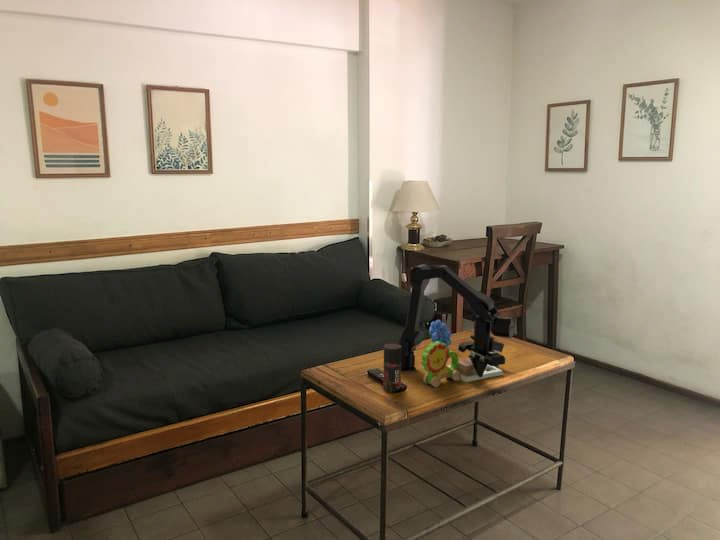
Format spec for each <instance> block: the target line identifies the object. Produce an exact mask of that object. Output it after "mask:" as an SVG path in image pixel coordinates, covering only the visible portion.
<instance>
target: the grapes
mask: <svg viewBox="0 0 720 540" xmlns="http://www.w3.org/2000/svg"><path fill="white" fill-rule="evenodd" d="M428 332H429V334H430V335H431V338H430V340H431V341H432V342H431V343H434V342H435V341H438V342H441V343H443V344H446V345H447V347H448V348H449V347H450V346H452V340H451V339H450V338H451V337H452V334H451V332H450V330H448V325H447V324H446V323H444V322H442V321H441V320H440V319H437V320H435V321H431V323H430V328H429V330H428Z"/></svg>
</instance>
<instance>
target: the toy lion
mask: <svg viewBox="0 0 720 540" xmlns="http://www.w3.org/2000/svg"><path fill="white" fill-rule="evenodd" d="M421 359H422V360H421V365H422V366H423V369H424V371H425V372H427V373H426V374H424V376H423V380H422V381H423V382H424V383H425V384H427V385H429V384H430V385H431V386H432V387H434V388H438V387H440V385H441V380H442V379H445V378H447V379H452V380H453V381H455V382H458V381H459V380H461V379H460V377H461V373H460V371H458V360H459V357H458V355H457V354H456V352H454V351H452V350H450V348H449V346H448V347H447V345H446V344H443V343H441V342H438V341H435V342H434V343H433V342H431V343H430V344H429V345H428V346H427V347H426V348H425V349H424V351H423V353H422V355H421ZM449 359H451V363H450V365H451V367H447V366H448V365H447V363H448V361H449ZM446 365H447V366H446Z"/></svg>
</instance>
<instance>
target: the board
mask: <svg viewBox="0 0 720 540" xmlns="http://www.w3.org/2000/svg"><path fill="white" fill-rule="evenodd" d="M446 366H447V367H451V364H449V365H447V364H446ZM503 373H504V371H503V370H502V369H500V368H496V367H494V366H490V365H487V367H486V369H485V371H484V373H483V376H482V377H478V375H477V373H476V374H471V375H466V376H465V375H463V374H461V377H460V379H459V380H462V381H464V382H466V383H467V382H468V383H469V382H474V381H478V380H484V379H488V378H493V377H494V378H495V377H499V376H503Z"/></svg>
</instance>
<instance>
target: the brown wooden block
mask: <svg viewBox="0 0 720 540" xmlns="http://www.w3.org/2000/svg"><path fill="white" fill-rule="evenodd" d="M458 371H460V373H461V374H463V375H465V376H466V375H471V374H476V370H475V368H474V366H473V364H472V362H471V360H470V358H465V359H458Z"/></svg>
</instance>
